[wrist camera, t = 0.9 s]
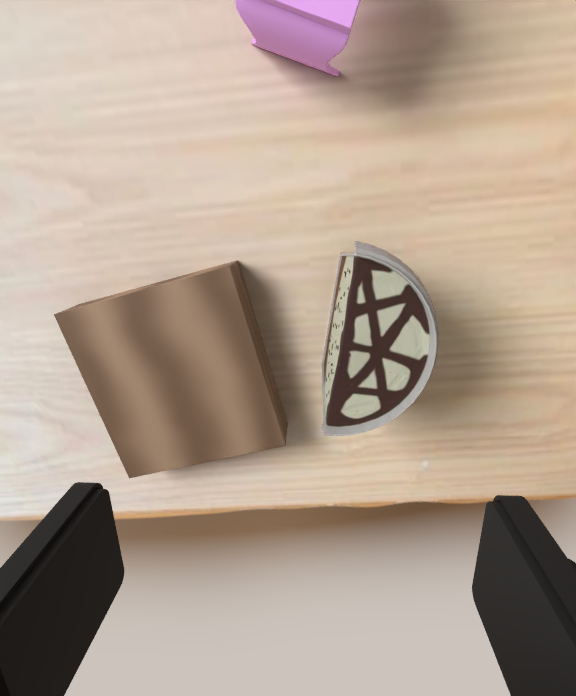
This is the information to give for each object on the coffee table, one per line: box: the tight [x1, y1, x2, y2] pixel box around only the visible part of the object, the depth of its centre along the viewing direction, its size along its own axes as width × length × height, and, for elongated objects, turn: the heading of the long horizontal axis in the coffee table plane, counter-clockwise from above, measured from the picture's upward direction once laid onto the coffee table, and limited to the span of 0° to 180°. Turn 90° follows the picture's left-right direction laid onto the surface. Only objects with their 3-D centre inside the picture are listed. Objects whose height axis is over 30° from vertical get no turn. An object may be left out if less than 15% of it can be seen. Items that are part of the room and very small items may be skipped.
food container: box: [322, 241, 438, 436], centre depth 29 cm, size 12×6×10 cm, turn 173°
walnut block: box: [54, 261, 287, 478], centre depth 34 cm, size 14×15×4 cm
